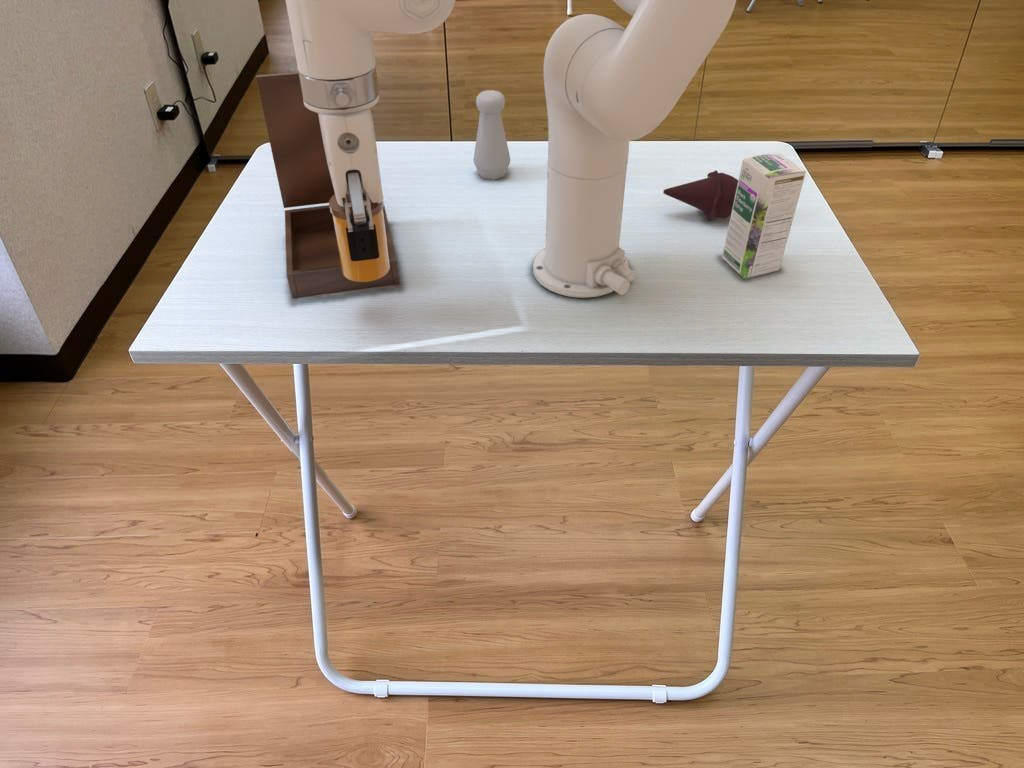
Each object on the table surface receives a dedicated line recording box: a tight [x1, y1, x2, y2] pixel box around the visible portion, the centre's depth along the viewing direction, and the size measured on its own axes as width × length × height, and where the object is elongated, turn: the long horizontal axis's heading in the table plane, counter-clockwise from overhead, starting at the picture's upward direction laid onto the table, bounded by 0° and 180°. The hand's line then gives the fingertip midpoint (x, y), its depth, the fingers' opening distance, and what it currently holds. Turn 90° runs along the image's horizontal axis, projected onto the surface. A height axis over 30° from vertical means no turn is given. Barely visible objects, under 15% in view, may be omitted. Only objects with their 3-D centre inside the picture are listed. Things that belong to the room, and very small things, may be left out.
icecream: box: [662, 169, 739, 221], centre depth 112 cm, size 7×7×15 cm
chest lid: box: [255, 71, 373, 209], centre depth 103 cm, size 17×14×1 cm
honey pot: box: [328, 194, 390, 282], centre depth 88 cm, size 6×6×10 cm
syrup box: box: [721, 152, 807, 280], centre depth 99 cm, size 6×6×14 cm
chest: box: [284, 201, 401, 299], centre depth 104 cm, size 17×14×4 cm
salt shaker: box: [473, 89, 511, 181], centre depth 120 cm, size 6×6×13 cm
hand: (362, 242), depth 89 cm, fingers closed on honey pot, 5 cm apart
